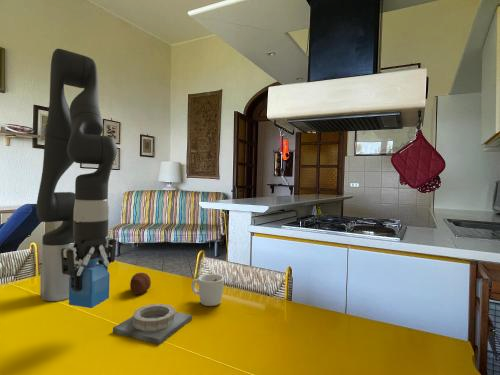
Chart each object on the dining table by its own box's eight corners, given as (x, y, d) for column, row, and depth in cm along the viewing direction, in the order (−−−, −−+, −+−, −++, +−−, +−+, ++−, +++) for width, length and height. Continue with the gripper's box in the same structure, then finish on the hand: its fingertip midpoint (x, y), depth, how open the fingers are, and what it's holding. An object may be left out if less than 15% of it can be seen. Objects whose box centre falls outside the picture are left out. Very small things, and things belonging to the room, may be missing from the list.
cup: (184, 304, 95) (185, 278, 95) (198, 295, 103) (199, 271, 102) (215, 310, 91) (216, 283, 91) (227, 300, 99) (228, 275, 98)
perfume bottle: (91, 308, 72) (92, 257, 71) (68, 304, 73) (69, 254, 73) (109, 297, 78) (110, 250, 77) (87, 294, 79) (88, 248, 79)
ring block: (112, 332, 77) (113, 318, 77) (150, 310, 90) (150, 298, 90) (159, 344, 72) (159, 329, 72) (191, 319, 85) (192, 306, 85)
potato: (123, 295, 101) (123, 276, 101) (136, 286, 110) (137, 268, 110) (143, 297, 100) (144, 277, 100) (155, 287, 109) (155, 269, 109)
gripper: (103, 213, 83) (102, 274, 83) (51, 220, 69) (50, 293, 70) (125, 215, 80) (123, 279, 81) (76, 223, 67) (74, 299, 67)
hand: (89, 285), depth 75 cm, fingers closed on perfume bottle, 6 cm apart
